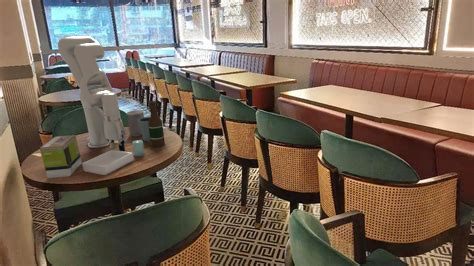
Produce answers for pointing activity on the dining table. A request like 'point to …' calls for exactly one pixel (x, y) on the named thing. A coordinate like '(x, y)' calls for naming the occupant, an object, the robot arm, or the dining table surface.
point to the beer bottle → (155, 127)
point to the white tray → (108, 162)
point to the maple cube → (115, 146)
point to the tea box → (61, 156)
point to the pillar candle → (134, 122)
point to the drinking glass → (144, 128)
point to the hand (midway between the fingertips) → (118, 150)
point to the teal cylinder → (138, 148)
